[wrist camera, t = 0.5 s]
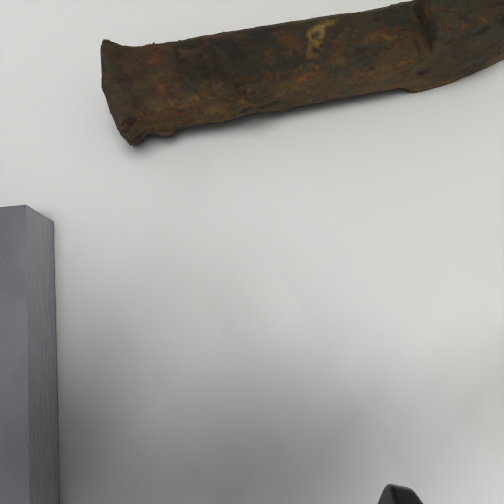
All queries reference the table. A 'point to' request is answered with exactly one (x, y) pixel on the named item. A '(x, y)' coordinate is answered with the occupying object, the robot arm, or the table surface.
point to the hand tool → (298, 63)
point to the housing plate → (28, 359)
